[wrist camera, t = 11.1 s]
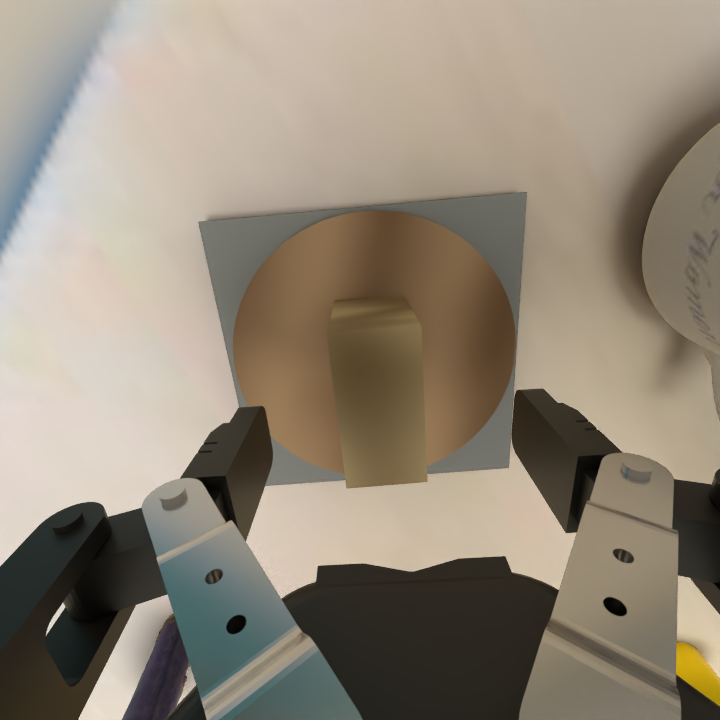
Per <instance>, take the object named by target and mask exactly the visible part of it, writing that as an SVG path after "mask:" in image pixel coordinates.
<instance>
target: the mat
mask: <svg viewBox="0 0 720 720" xmlns="http://www.w3.org/2000/svg"><path fill="white" fill-rule="evenodd" d="M526 197H527V192H521V193H510V194H499V195H488V196H477V197H466V198H455V199H444V200H433V201H422V202H411V203H400V204H389V205H378V206H367V207H356V208H345V209H334V210H323V211H312V212H301V213H290V214H279V215H268V216H257V217H246V218H235V219H224V220H213V221H202V222H198V223H199V228H200V232H201V237H202V241H203V246H204V250H205V255H206V259H207V264H208V268H209V273H210V277H211V282H212V286H213V291H214V295H215V300H216V304H217V309H218V313H219V318H220V322H221V327H222V331H223V336H224V340H225V345H226V349H227V354H228V358H229V363H230V367H231V372H232V376H233V381H234V385H235V390H236V394H237V399H238V403H239V407H249V406H248V405H247V402H246V400H245V398H244V396H243V394H242V391H241V389H240V386H239V382H238V379H237V376H236V371H235V365H234V358H233V335H234V327H235V320H236V316H237V313H238V309H239V305H240V302H241V300H242V298H243V296H244V293H245V291H246V289H247V286H248V285H249V283H250V282H251V280H252V278H253V277H254V275H255V273H256V272H257V270H258V269H259V268H260V267H261V265H262V264H263V263H264V262H265V261H266V259H267V258H268V257H269V256H270V255H271V254H272V253H273V252H274V251H275V250H276V249H277V248H279V247H280V246H281V245H282V244H283V243H284V242H285V241H287V240H288V239H290V238H291V237H293V236H294V235H296V234H297V233H299V232H300V231H302V230H304V229H306V228H308V227H310V226H312V225H314V224H316V223H318V222H320V221H323V220H326V219H329V218H332V217H336V216H339V215H342V214H348V213H354V212H359V211H391V212H400V213H406V214H410V215H414V216H418V217H421V218H425V219H427V220H430V221H432V222H434V223H437V224H439V225H442V226H444V227H445V228H447V229H449V230H450V231H452V232H454V233H455V234H457V235H459V236H460V237H462V238H463V239H464V240H465V241H466V242H468V243H469V244H470V245H471V246H473V247H474V248H475V249H476V250H477V251H478V252H479V253H480V254H481V255H482V257H483V258H484V259H485V260H486V261H487V262H488V263H489V265H490V266H491V267H492V269H493V270H494V272H495V273H496V275H497V276H498V278H499V279H500V282H501V284H502V286H503V288H504V290H505V292H506V294H507V296H508V300H509V303H510V306H511V309H512V312H513V318H514V324H515V332H516V349H517V334H518V319H519V304H520V288H521V273H522V258H523V242H524V227H525V212H526ZM515 365H516V350H515V358H514V366H513V370H512V373H511V377H510V381H509V384H508V386H507V389H506V391H505V393H504V396H503V398H502V400H501V402H500V403H499V405H498V407H497V409H496V410H495V412H494V413H493V415H492V416H491V417H490V419H489V420H488V421H487V423H486V424H485V425H484V427H483V428H482V429H481V430H480V431H479V432H478V433H477V434H476V435H475V436H474V437H473V438H472V439H471V440H469V441H468V442H467V443H466V444H465V445H463V446H462V447H461V448H460V449H458V450H456V451H455V452H453V453H452V454H450V455H449V456H447V457H445V458H443V459H441V460H439V461H437V462H435V463H433V464H431V465H429V466H427V474H434V473H447V472H461V471H474V470H488V469H501V468H509V456H510V441H511V426H512V410H513V395H514V380H515ZM270 437H271V442H272V448H273V462H272V467H271V470H270V473H269V476H268V479H267V482H266V485H265V486H271V485H285V484H298V483H312V482H325V481H339V480H345V474H342V473H337V472H333V471H330V470H327V469H324V468H320V467H318V466H316V465H314V464H311V463H309V462H307V461H305V460H303V459H301V458H300V457H298V456H296V455H294V454H293V453H291V452H290V451H288V450H287V449H286V448H284V447H283V446H282V445H280V444H279V443H278V442H277V441H276V440H275V439H274V438H273V437H272V436H271V435H270Z"/></svg>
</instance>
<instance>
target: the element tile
mask: <svg viewBox="0 0 720 720" xmlns="http://www.w3.org/2000/svg"><path fill="white" fill-rule="evenodd" d="M676 675H678V676H679V677H680V678H682V679H683V680H684V681H686V682H687V683H689V684H690V685H691V686H693V687H694V688H695V689H697V690H698V691H700V692H701V693H702V694H704V695H705V696H706V697H708V698H709V699H711V700H712V701H713V702H715V703H716V704H717V705H719V706H720V678H719V677H718V676H717V675H716V673H715V672H714V671H713V669H712V668H711V667H710V665H709V664H708V663H707V662H706V660H705V659H704V658H703V656H702V655H701V654H700V653H699V651H698V650H697V649H696V648H694V647H693V646H691V645H689V644H685V643H680V642H677V649H676Z"/></svg>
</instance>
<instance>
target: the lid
mask: <svg viewBox="0 0 720 720" xmlns="http://www.w3.org/2000/svg"><path fill="white" fill-rule="evenodd" d="M515 350H516V332H515V324H514V318H513V312H512V309H511V306H510V303H509V300H508V296H507V294H506V292H505V290H504V288H503V286H502V284H501V282H500V279H499V278H498V276H497V275H496V273H495V272H494V270H493V269H492V267H491V266H490V265H489V263H488V262H487V261H486V260H485V259H484V258H483V257H482V255H481V254H480V253H479V252H478V251H477V250H476V249H475V248H474V247H473V246H471V245H470V244H469V243H468V242H466V241H465V240H464V239H463V238H462V237H460V236H459V235H457V234H455V233H454V232H452V231H450V230H449V229H447V228H445V227H444V226H442V225H439V224H437V223H434V222H432V221H430V220H427V219H425V218H421V217H418V216H414V215H410V214H406V213H400V212H391V211H359V212H354V213H348V214H342V215H339V216H336V217H332V218H329V219H326V220H323V221H320V222H318V223H316V224H314V225H312V226H310V227H308V228H306V229H304V230H302V231H300V232H299V233H297V234H296V235H294V236H293V237H291V238H290V239H288V240H287V241H285V242H284V243H283V244H282V245H281V246H280V247H279V248H277V249H276V250H275V251H274V252H273V253H272V254H271V255H270V256H269V257H268V258H267V259H266V261H265V262H264V263H263V264H262V265H261V267H260V268H259V269H258V270H257V272H256V273H255V275H254V277H253V278H252V280H251V282H250V283H249V285H248V286H247V289H246V291H245V293H244V296H243V298H242V300H241V302H240V305H239V309H238V313H237V316H236V320H235V327H234V335H233V358H234V365H235V371H236V376H237V379H238V382H239V386H240V389H241V391H242V394H243V396H244V398H245V400H246V402H247V405H248V406H249V407H252V406H263V407H264V408H265V411H266V415H267V420H268V426H269V431H270V435H271V436H272V437H273V438H274V439H275V440H276V441H277V442H278V443H279V444H280V445H282V446H283V447H284V448H286V449H287V450H288V451H290V452H291V453H293V454H294V455H296V456H298V457H300V458H301V459H303V460H305V461H307V462H309V463H311V464H314V465H316V466H318V467H320V468H324V469H327V470H330V471H333V472H337V473H342V474H345V480H346V488H358V487H370V486H382V485H394V484H407V483H419V482H427V466H429V465H431V464H433V463H435V462H437V461H439V460H441V459H443V458H445V457H447V456H449V455H450V454H452V453H453V452H455V451H456V450H458V449H460V448H461V447H462V446H463V445H465V444H466V443H467V442H468V441H469V440H471V439H472V438H473V437H474V436H475V435H476V434H477V433H478V432H479V431H480V430H481V429H482V428H483V427H484V425H485V424H486V423H487V421H488V420H489V419H490V417H491V416H492V415H493V413H494V412H495V410H496V409H497V407H498V405H499V403H500V402H501V400H502V398H503V396H504V393H505V391H506V389H507V386H508V384H509V381H510V377H511V373H512V370H513V366H514V358H515Z"/></svg>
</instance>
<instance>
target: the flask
mask: <svg viewBox="0 0 720 720" xmlns="http://www.w3.org/2000/svg"><path fill="white" fill-rule="evenodd" d="M188 667H190V663H189V660H188V657H187V654H186V650H185V647H184V644H183V641H182V638H181V635H180V631H179V628H178V625H177V622H176V619H175V616H174V614H173V615H171V616H170V618H169V619H167V620H166V622H165V623H164V625H163V627H162V629H161V631H160V632H159V636H158V637H157V640H156V644H155V647H154V649H153V652H152V654H151V656H150V659H149V661H148V662H147V664H146V667H145V670H144V672H143V673H142V676H141V678H140V681H139V683H138V686H137V688H136V690H135V692H134V695H133V697H132V699H131V702H130V704H129V706H128V708H127V710H126V712H125V714H124V716H123V719H122V720H164V719H165V718H166V717H167V716H168V715H169V714H170V713H171V712H172V711H173V710H174V709H175V708H176V706H177V703H178V701H179V699H180V697H181V694H182V691H183V686H184V683H185V682H186V681H187V680H186V679H187V678H185V674H186V670H187V669H188Z"/></svg>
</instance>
